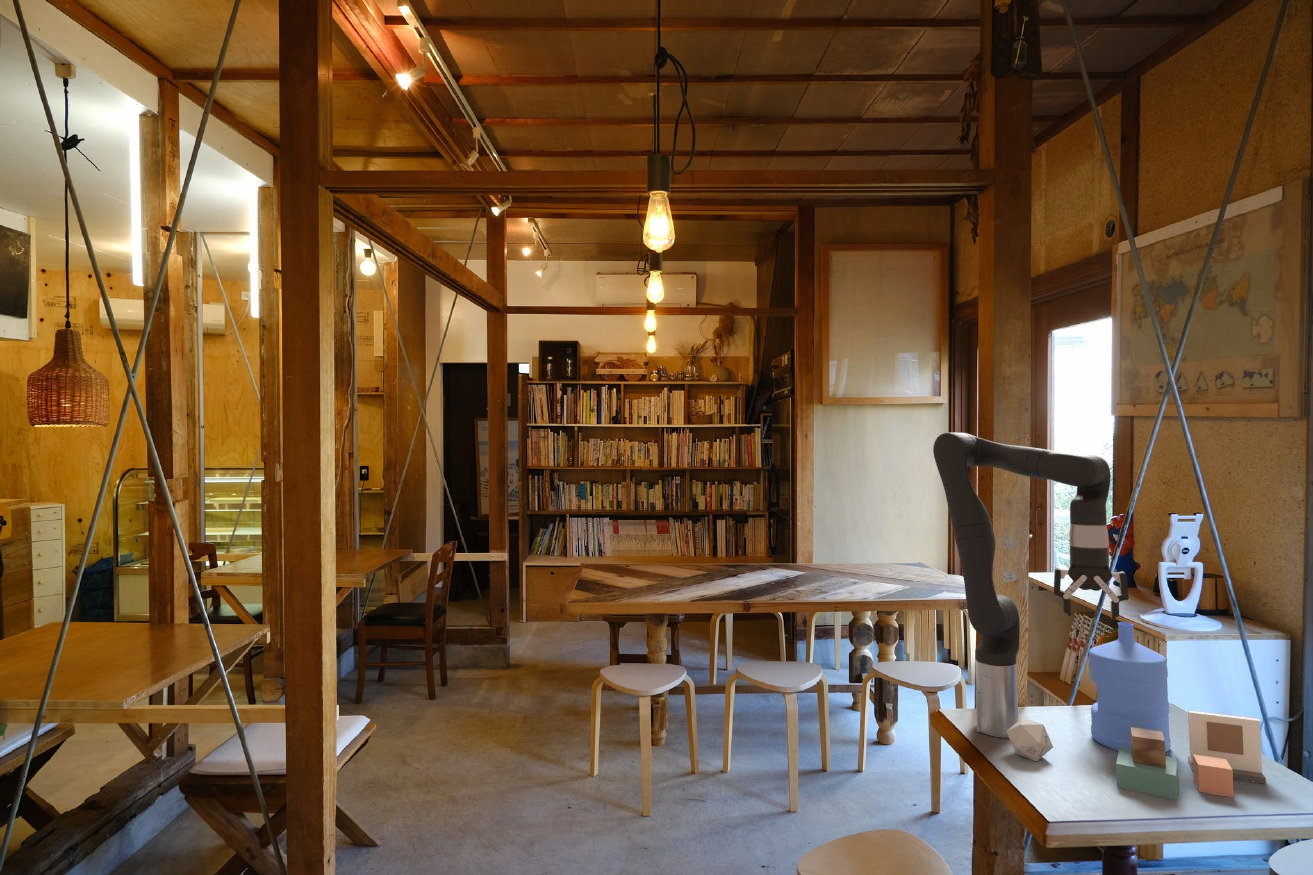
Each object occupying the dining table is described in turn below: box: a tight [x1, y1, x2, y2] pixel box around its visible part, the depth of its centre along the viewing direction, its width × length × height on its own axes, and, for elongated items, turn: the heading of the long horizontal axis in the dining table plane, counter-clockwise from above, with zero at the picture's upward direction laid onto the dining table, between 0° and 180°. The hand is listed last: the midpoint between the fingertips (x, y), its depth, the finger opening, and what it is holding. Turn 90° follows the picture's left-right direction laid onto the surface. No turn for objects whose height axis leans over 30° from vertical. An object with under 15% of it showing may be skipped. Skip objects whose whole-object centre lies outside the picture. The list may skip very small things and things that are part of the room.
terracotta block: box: [1192, 754, 1235, 798], centre depth 145 cm, size 6×6×6 cm
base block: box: [1115, 747, 1179, 801], centre depth 147 cm, size 10×10×5 cm
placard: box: [1187, 710, 1267, 784], centre depth 152 cm, size 12×6×12 cm, turn 63°
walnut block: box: [1131, 727, 1166, 768], centre depth 148 cm, size 6×6×6 cm
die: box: [1006, 717, 1054, 762], centre depth 162 cm, size 8×9×10 cm
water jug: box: [1088, 621, 1171, 754], centre depth 168 cm, size 16×16×28 cm
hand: (1090, 616), depth 159 cm, fingers open, 8 cm apart
